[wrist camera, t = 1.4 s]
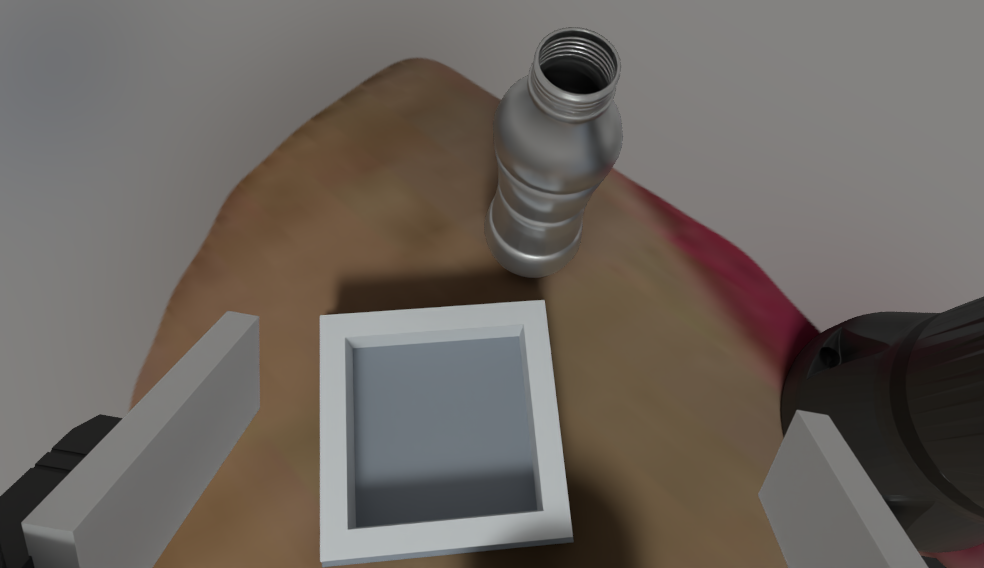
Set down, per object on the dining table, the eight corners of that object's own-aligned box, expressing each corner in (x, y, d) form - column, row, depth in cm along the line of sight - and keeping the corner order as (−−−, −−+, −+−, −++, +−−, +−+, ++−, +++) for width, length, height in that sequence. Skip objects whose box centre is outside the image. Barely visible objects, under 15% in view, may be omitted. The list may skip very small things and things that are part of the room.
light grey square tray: (543, 309, 44) (551, 291, 40) (570, 541, 39) (582, 545, 35) (324, 325, 43) (311, 308, 39) (325, 565, 38) (310, 572, 34)
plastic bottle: (552, 302, 44) (622, 154, 25) (466, 260, 45) (472, 85, 26) (589, 227, 46) (680, 38, 27) (506, 188, 47) (539, -23, 28)
